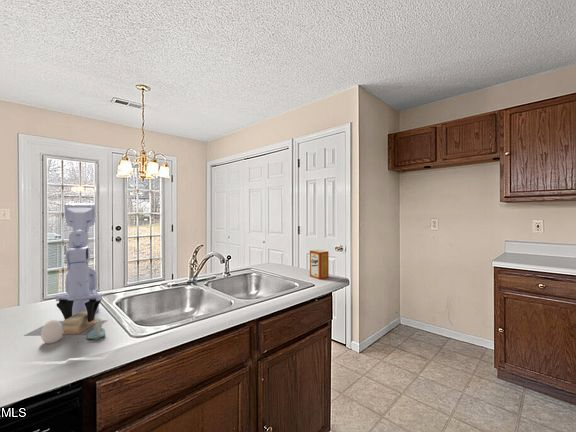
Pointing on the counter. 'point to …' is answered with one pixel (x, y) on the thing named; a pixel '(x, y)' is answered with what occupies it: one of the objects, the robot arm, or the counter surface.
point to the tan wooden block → (76, 322)
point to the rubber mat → (85, 332)
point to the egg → (51, 331)
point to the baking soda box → (319, 264)
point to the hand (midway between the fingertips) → (79, 321)
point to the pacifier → (96, 332)
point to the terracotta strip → (80, 330)
